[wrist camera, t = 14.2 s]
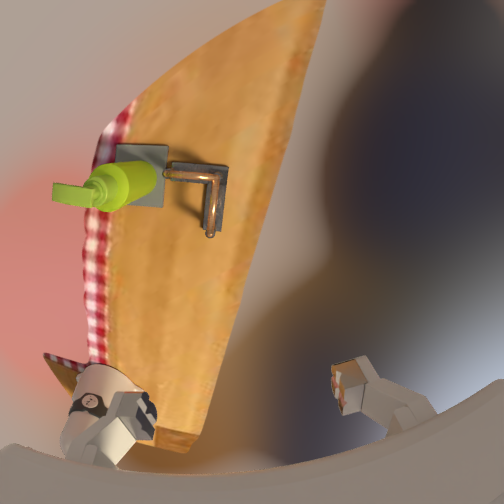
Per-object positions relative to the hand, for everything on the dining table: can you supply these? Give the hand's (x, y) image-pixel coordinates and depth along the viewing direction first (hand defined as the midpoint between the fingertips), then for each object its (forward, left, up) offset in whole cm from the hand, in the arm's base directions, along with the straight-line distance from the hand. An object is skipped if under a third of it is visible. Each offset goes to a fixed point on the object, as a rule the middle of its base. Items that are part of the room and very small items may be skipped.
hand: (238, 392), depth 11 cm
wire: (+2, +6, -37) cm, 38 cm away
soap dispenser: (+4, +16, -37) cm, 40 cm away
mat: (+5, +16, -37) cm, 41 cm away
